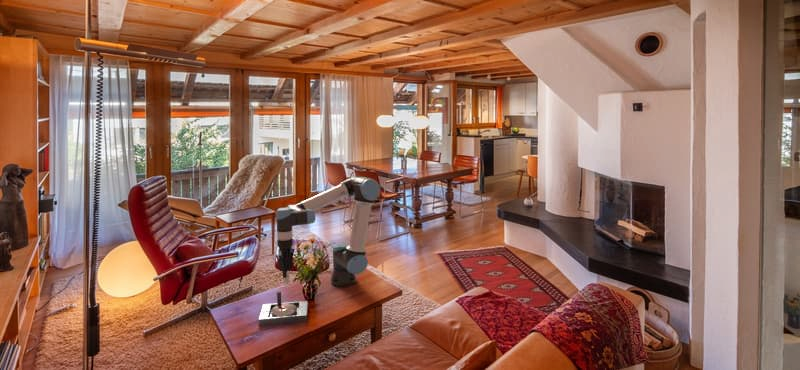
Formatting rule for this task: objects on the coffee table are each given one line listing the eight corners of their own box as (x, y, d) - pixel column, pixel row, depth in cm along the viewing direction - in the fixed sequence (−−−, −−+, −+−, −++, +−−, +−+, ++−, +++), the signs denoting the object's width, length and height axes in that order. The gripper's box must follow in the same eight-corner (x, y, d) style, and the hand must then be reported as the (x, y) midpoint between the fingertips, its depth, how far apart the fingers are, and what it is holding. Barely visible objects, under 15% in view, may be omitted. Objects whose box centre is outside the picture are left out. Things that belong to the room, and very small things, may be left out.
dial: (301, 313, 204) (300, 296, 203) (278, 320, 196) (277, 303, 195) (289, 304, 213) (289, 288, 212) (267, 311, 205) (266, 295, 204)
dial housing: (307, 307, 215) (307, 300, 214) (306, 321, 199) (306, 314, 199) (263, 310, 211) (263, 303, 210) (258, 326, 195) (258, 318, 195)
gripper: (286, 234, 217) (287, 277, 220) (270, 241, 205) (272, 286, 208) (298, 235, 214) (299, 279, 218) (283, 242, 202) (285, 288, 206)
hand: (286, 282), depth 213 cm, fingers closed
